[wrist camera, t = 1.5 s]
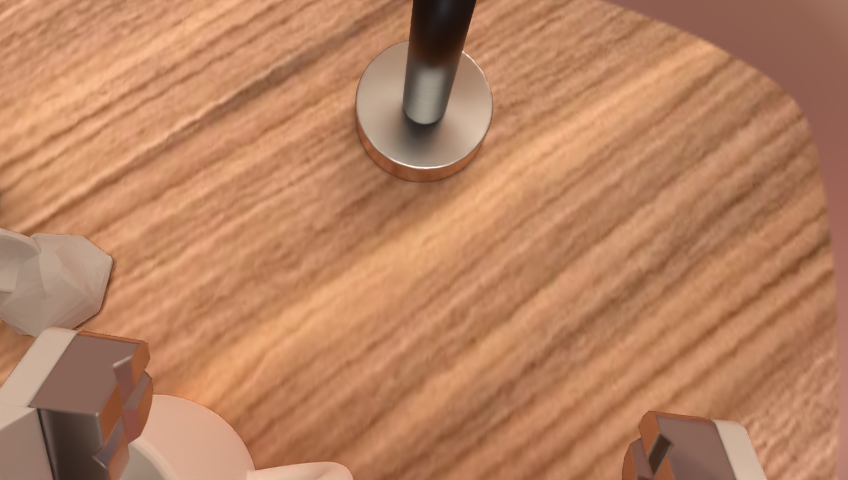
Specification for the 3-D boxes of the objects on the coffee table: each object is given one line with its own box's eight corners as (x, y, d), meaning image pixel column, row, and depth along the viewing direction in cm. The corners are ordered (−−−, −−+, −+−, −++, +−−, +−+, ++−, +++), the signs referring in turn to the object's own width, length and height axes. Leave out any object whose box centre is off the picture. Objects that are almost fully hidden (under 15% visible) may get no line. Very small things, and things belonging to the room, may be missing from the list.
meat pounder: (482, 58, 32) (565, -180, 18) (489, 181, 31) (582, 29, 17) (355, 58, 31) (340, -185, 17) (357, 183, 30) (344, 29, 16)
